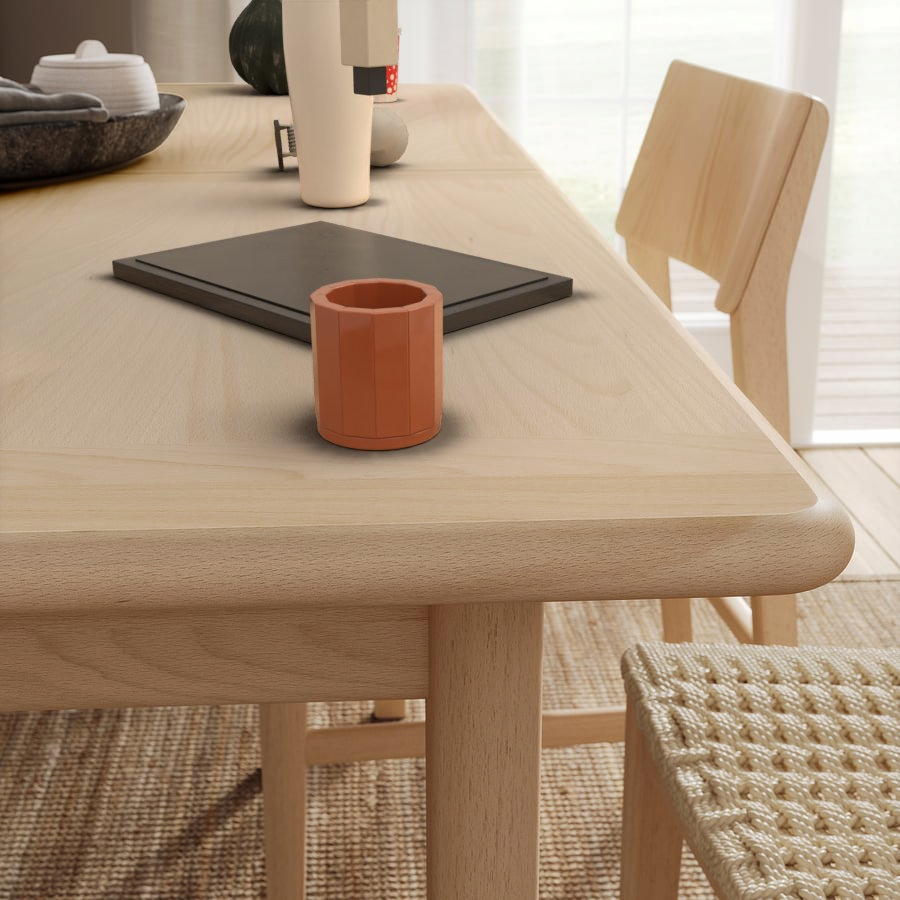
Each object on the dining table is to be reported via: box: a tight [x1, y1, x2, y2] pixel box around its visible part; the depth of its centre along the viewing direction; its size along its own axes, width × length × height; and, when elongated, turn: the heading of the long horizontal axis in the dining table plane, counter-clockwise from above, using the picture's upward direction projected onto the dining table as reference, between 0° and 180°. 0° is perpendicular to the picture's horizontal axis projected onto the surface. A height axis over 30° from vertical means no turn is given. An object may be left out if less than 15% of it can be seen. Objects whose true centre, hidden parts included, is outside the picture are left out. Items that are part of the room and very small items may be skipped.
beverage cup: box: [373, 27, 403, 104], centre depth 151 cm, size 6×6×14 cm
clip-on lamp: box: [273, 106, 409, 170], centre depth 106 cm, size 12×6×18 cm
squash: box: [228, 0, 289, 95], centre depth 162 cm, size 14×15×15 cm
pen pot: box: [310, 278, 444, 451], centre depth 46 cm, size 5×5×6 cm
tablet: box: [111, 220, 574, 344], centre depth 67 cm, size 22×16×1 cm
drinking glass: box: [282, 0, 374, 209], centre depth 87 cm, size 7×7×15 cm
